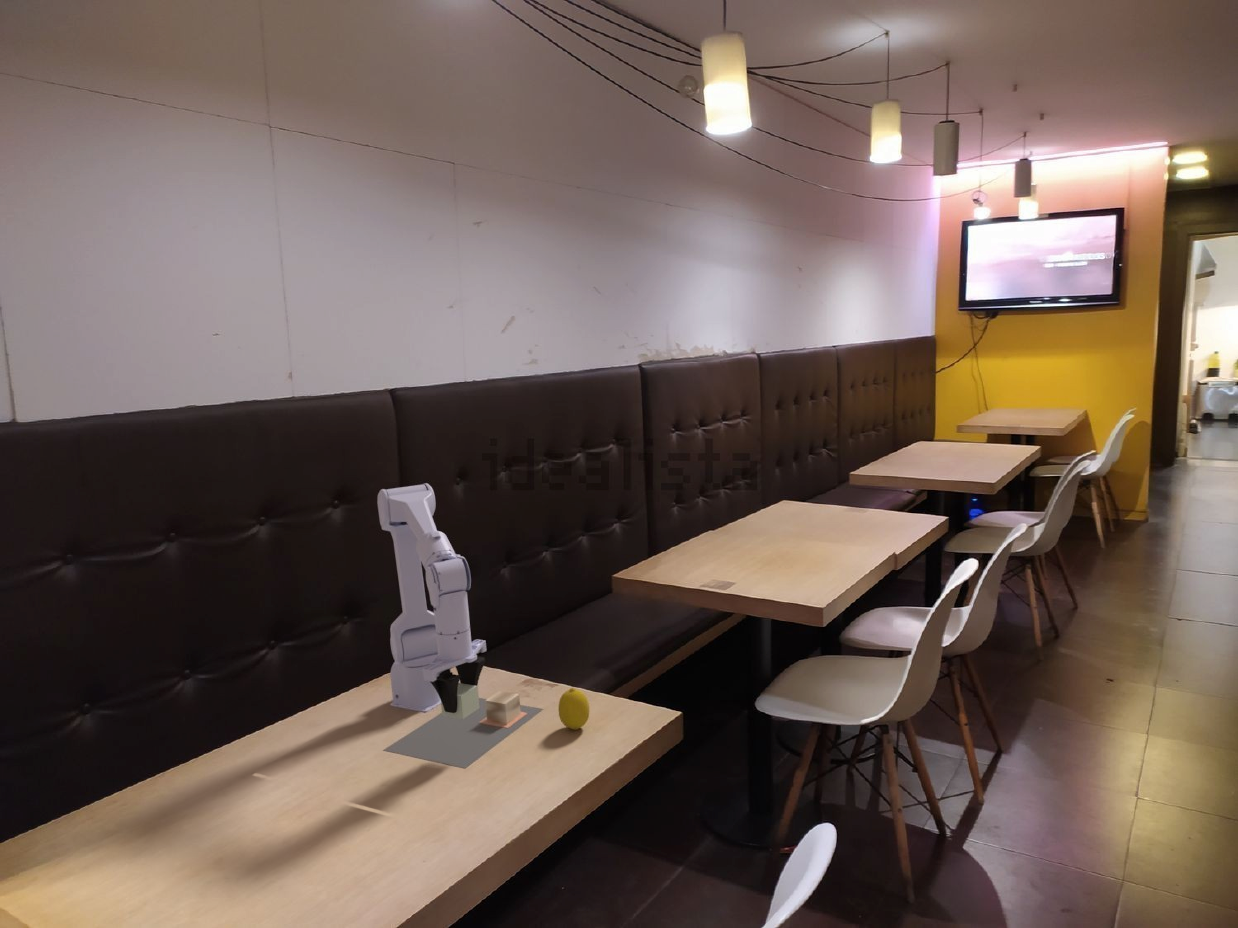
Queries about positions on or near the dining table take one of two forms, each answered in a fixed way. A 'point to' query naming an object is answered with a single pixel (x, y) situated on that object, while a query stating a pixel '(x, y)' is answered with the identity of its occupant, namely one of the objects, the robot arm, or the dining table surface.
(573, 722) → the lemon
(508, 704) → the cream block
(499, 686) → the dining table surface
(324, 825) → the dining table surface
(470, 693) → the sage block
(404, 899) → the dining table surface
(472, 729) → the grey mat
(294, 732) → the dining table surface
